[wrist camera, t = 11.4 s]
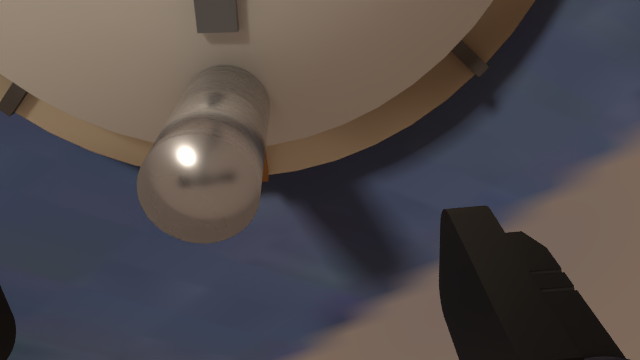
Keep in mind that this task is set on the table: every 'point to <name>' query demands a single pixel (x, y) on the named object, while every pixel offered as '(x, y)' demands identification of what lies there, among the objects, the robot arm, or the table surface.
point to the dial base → (323, 146)
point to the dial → (221, 82)
